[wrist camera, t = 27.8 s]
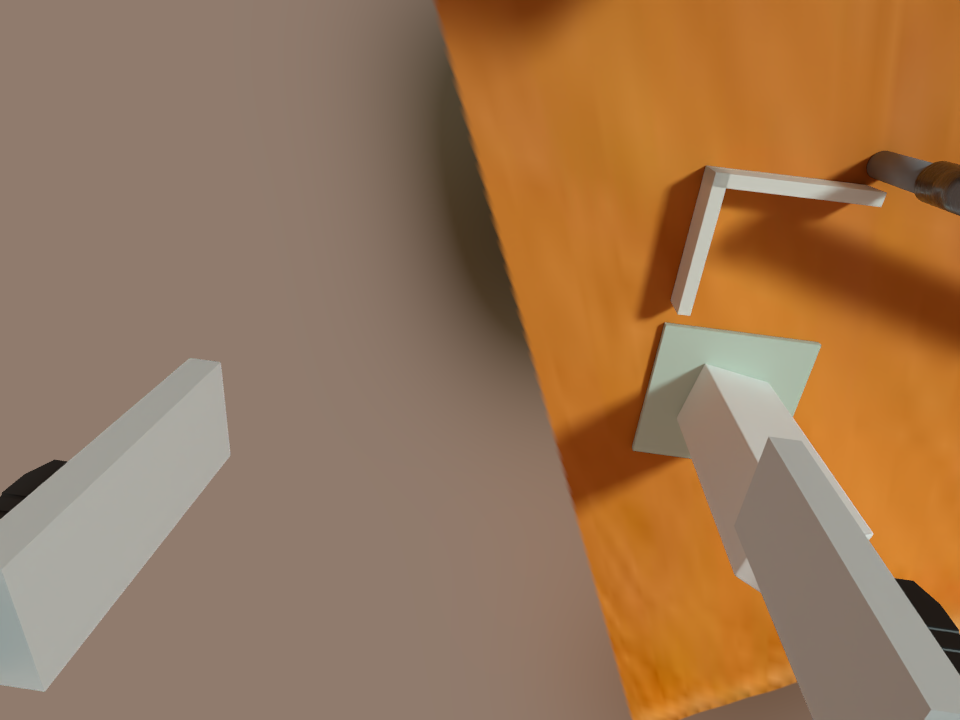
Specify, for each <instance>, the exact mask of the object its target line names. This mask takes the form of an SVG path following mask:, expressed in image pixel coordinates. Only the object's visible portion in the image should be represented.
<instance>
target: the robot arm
mask: <svg viewBox="0 0 960 720" xmlns="http://www.w3.org/2000/svg"><path fill="white" fill-rule="evenodd" d="M229 456H230V446H229V437H228V427H227V418H226V408H225V399H224V389H223V380H222V371H221V362H216V361H208V360H201V359H193V358H189V359H188V360H187V361H186V362H185V363H183V364H182V365H181V366H180V367H179V368H178V369H176V370H175V371H174V372H173V373H172V374H170V375H169V376H168V377H167V378H166V379H165V380H163V381H162V382H161V383H160V384H159V385H158V386H156V387H155V388H154V389H153V390H152V391H150V392H149V393H148V394H147V395H146V396H145V397H143V398H142V399H141V400H140V401H139V402H138V403H136V404H135V405H134V406H133V407H132V408H130V409H129V410H128V411H127V412H126V413H125V414H123V415H122V416H121V417H120V418H119V419H118V420H116V421H115V422H114V423H113V424H112V425H111V426H109V427H108V428H107V429H106V430H105V431H104V432H102V433H101V434H100V435H99V436H98V437H97V438H95V439H94V440H93V441H92V442H91V443H89V444H88V445H87V446H86V447H85V448H84V449H82V450H81V451H80V452H79V453H78V454H76V455H75V456H74V457H73V458H72V459H71V460H69V461H68V462H67V461H60V460H53V461H51V462H49V463H47V464H45V465H43V466H41V467H39V468H37V469H35V470H33V471H30V472H28V473H26V474H25V475H23V476H22V477H21V478H20V479H18V480H17V481H16V482H15V483H13V484H12V485H11V486H10V487H8V488H7V489H6V490H5V491H3V492H2V495H1V497H0V685H5V686H12V687H18V688H24V689H31V690H38V691H44V692H45V691H46V689H47V688H48V687H49V685H50V684H51V683H52V682H53V680H54V679H55V678H56V677H57V675H58V674H59V673H60V672H61V670H62V669H63V668H64V666H65V665H66V664H67V663H68V661H69V660H70V659H71V658H72V656H73V655H74V654H75V652H76V651H77V650H78V649H79V647H80V646H81V645H82V643H83V642H84V641H85V640H86V638H87V637H88V636H89V635H90V633H91V632H92V631H93V630H94V628H95V627H96V625H97V624H98V623H99V622H100V621H101V619H102V618H103V617H104V616H105V614H106V613H107V612H108V610H109V609H110V608H111V607H112V605H113V604H114V603H115V601H116V600H117V599H118V598H119V596H120V595H121V594H122V593H123V591H124V590H125V589H126V587H127V586H128V585H129V584H130V582H131V581H132V580H133V578H134V577H135V576H136V575H137V574H138V572H139V571H140V570H141V568H142V567H143V566H144V565H145V563H146V562H147V561H148V560H149V558H150V557H151V556H152V554H153V553H154V552H155V550H156V549H157V548H158V547H159V545H160V544H161V543H162V542H163V540H164V539H165V538H166V536H167V535H168V534H169V533H170V532H171V530H172V529H173V528H174V526H175V525H176V524H177V522H178V521H179V520H180V519H181V517H182V516H183V515H184V514H185V512H186V511H187V510H188V508H189V507H190V506H191V505H192V503H193V502H194V501H195V500H196V498H197V497H198V496H199V495H200V493H201V492H202V491H203V489H204V488H205V487H206V486H207V484H208V483H209V482H210V480H211V479H212V478H213V477H214V475H215V474H216V473H217V472H218V470H219V469H220V468H221V466H222V465H223V464H224V463H225V461H226V460H227V459H228V458H229ZM734 527H735V530H736V532H737V535H738V537H739V540H740V542H741V545H742V547H743V549H744V552H745V554H746V557H747V559H748V562H749V564H750V567H751V569H752V572H753V574H754V576H755V579H756V581H757V584H758V586H759V589H760V591H761V594H762V596H763V598H764V601H765V603H766V606H767V608H768V611H769V613H770V616H771V618H772V621H773V623H774V625H775V628H776V630H777V633H778V635H779V638H780V640H781V643H782V645H783V647H784V650H785V652H786V655H787V657H788V660H789V662H790V665H791V667H792V670H793V672H794V674H795V677H796V679H797V682H798V684H799V687H800V689H801V691H802V694H803V697H804V699H805V701H806V704H807V706H808V709H809V711H810V714H811V716H812V719H813V720H960V635H959V630H958V628H957V627H956V625H955V624H954V623H953V621H952V620H951V619H950V617H949V616H948V614H947V613H946V612H945V610H944V609H943V608H942V606H941V605H940V604H939V603H938V602H937V601H936V600H935V599H933V598H932V597H931V596H930V595H929V594H928V593H926V592H925V591H924V590H923V589H922V588H921V587H920V586H918V585H917V584H916V583H915V582H914V581H910V580H903V579H896V578H894V577H893V576H892V574H891V573H890V571H889V570H888V568H887V567H886V565H885V564H884V562H883V561H882V559H881V558H880V556H879V555H878V553H877V552H876V550H875V549H874V547H873V546H872V544H871V543H870V541H869V540H868V539H867V537H866V536H865V534H864V533H863V531H862V530H861V528H860V527H859V525H858V524H857V522H856V521H855V519H854V518H853V516H852V515H851V513H850V512H849V510H848V509H847V507H846V506H845V504H844V503H843V501H842V500H841V499H840V497H839V496H838V494H837V493H836V491H835V490H834V488H833V487H832V485H831V484H830V482H829V481H828V479H827V478H826V476H825V475H824V473H823V472H822V470H821V469H820V467H819V466H818V464H817V463H816V462H815V460H814V459H813V457H812V456H811V454H810V453H809V451H808V450H807V448H806V447H805V445H804V444H803V442H802V441H799V440H791V439H784V438H776V437H769V436H768V439H767V442H766V444H765V447H764V449H763V452H762V455H761V457H760V460H759V462H758V465H757V468H756V470H755V473H754V475H753V478H752V481H751V483H750V486H749V488H748V491H747V494H746V496H745V499H744V501H743V504H742V507H741V509H740V512H739V514H738V517H737V520H736V522H735V525H734Z"/></svg>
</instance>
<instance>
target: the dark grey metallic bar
mask: <svg viewBox="0 0 960 720" xmlns="http://www.w3.org/2000/svg"><path fill="white" fill-rule="evenodd" d="M914 193H915V195H916V197H917V198H918V199H919V200H920V201H922V202H925V203H927V204H930V205H933V206H935V207H938V208H940V209H943V210H946V211H948V212H951V213H954V214H956V215H959V216H960V165H959V164H955V163H951V162H947V161H939V162H935V163H932V164H930V165H929V166H927V167H926V168H924V169H923V170H922V171H921V172H920V173H919V175H918V176H917V178H916V180H915V183H914Z"/></svg>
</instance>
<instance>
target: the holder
mask: <svg viewBox="0 0 960 720" xmlns="http://www.w3.org/2000/svg"><path fill="white" fill-rule="evenodd" d="M930 164H932V163H930V162H927V161H923V160H919V159H915V158H912V157H908V156H904V155H901V154H897V153H893V152H890V151H881V152H878V153H876V154H875V155H873V156H872V157H871V158H870V160H869V162H868V164H867V173H868V175H869V176H870V177H872V178H874V179H877V180H880V181H882V182H885V183H888V184H891V185H893V186H896V187H899V188H902V189H904V190H907V191H910V192H912V193H914V183H915V180H916V178H917V176H918V175H919V173H920V172H921V171H922V170H923V169H924V168H926V167H927V166H929V165H930ZM726 188H728V189H736V190H745V191H753V192H761V193H770V194H778V195H786V196H794V197H803V198H811V199H819V200H827V201H836V202H844V203H852V204H861V205H869V206H877V207H881V206H882V204H883V201H884V199H885V196H886V194H887V193H886V192H883V191H881V190H878V189H876V188H873V187H871V186H868V185H864V184H855V183H847V182H839V181H830V180H822V179H814V178H805V177H797V176H788V175H780V174H772V173H763V172H755V171H747V170H738V169H730V168H722V167H713V166H706V167H705V171H704V175H703V179H702V182H701V186H700V190H699V194H698V198H697V201H696V205H695V209H694V213H693V217H692V221H691V224H690V228H689V232H688V236H687V240H686V243H685V247H684V251H683V255H682V259H681V262H680V266H679V270H678V274H677V278H676V281H675V285H674V289H673V293H672V297H671V300H670V301H671V303H672V305H673V306H674V308H675V310H676V312H677V314H680V315H688V316H690V315H691V311H692V307H693V304H694V300H695V297H696V293H697V290H698V286H699V283H700V279H701V276H702V272H703V268H704V265H705V261H706V258H707V254H708V251H709V247H710V244H711V240H712V237H713V233H714V229H715V226H716V222H717V219H718V215H719V212H720V208H721V205H722V201H723V198H724V194H725V190H726Z"/></svg>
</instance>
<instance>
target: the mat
mask: <svg viewBox="0 0 960 720" xmlns="http://www.w3.org/2000/svg"><path fill="white" fill-rule="evenodd" d="M820 347H821V344H820V343H819V342H812V341H805V340H797V339H789V338H781V337H774V336H766V335H758V334H751V333H743V332H735V331H727V330H720V329H712V328H704V327H696V326H689V325H681V324H673V323H666V322H665V323H664V327H663V331H662V335H661V339H660V342H659V346H658V350H657V354H656V358H655V361H654V365H653V369H652V373H651V377H650V380H649V384H648V388H647V392H646V396H645V399H644V403H643V407H642V411H641V415H640V418H639V422H638V426H637V430H636V434H635V437H634V441H633V445H632V449H633V451H639V452H646V453H654V454H661V455H668V456H675V457H683V458H690V459H692V458H691V456H690V453H689V450H688V448H687V445H686V442H685V440H684V437H683V434H682V431H681V429H680V426H679V423H678V421H677V416H678V414H679V412H680V410H681V409H682V407H683V405H684V403H685V401H686V399H687V397H688V395H689V393H690V391H691V389H692V387H693V386H694V384H695V382H696V380H697V378H698V376H699V374H700V372H701V370H702V368H703V366H704V365H705V364H709V365H712V366H715V367H719V368H722V369H725V370H728V371H732V372H735V373H738V374H742V375H745V376H748V377H752V378H755V379H758V380H762V381H765V382H768V383H769V384H770V385H771V387H772V388H773V390H774V391H775V393H776V394H777V395H778V397H779V398H780V400H781V401H782V403H783V404H784V406H785V407H786V408H787V410H788V411H789V413H790V414H791V416H792V417H793V415H794V413H795V410H796V408H797V405H798V403H799V400H800V398H801V395H802V393H803V390H804V387H805V385H806V382H807V380H808V377H809V375H810V372H811V370H812V367H813V365H814V362H815V360H816V357H817V355H818V352H819V350H820Z"/></svg>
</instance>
